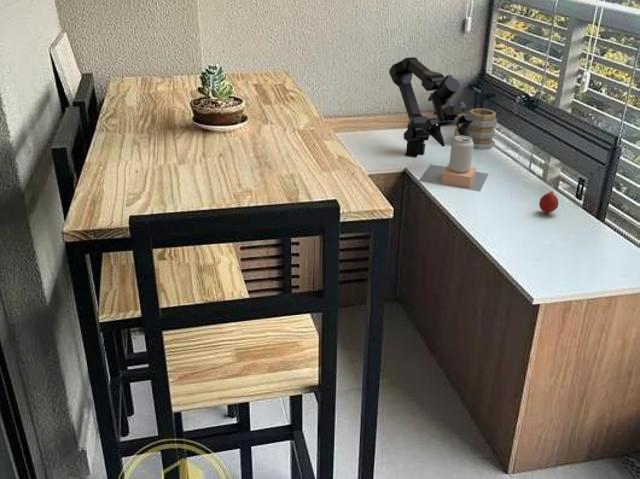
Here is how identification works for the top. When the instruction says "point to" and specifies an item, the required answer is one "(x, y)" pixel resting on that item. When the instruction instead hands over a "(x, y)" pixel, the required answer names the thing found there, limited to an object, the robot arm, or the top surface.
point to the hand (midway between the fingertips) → (454, 144)
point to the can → (461, 154)
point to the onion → (548, 202)
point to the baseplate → (435, 177)
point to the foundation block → (458, 177)
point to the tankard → (481, 128)
